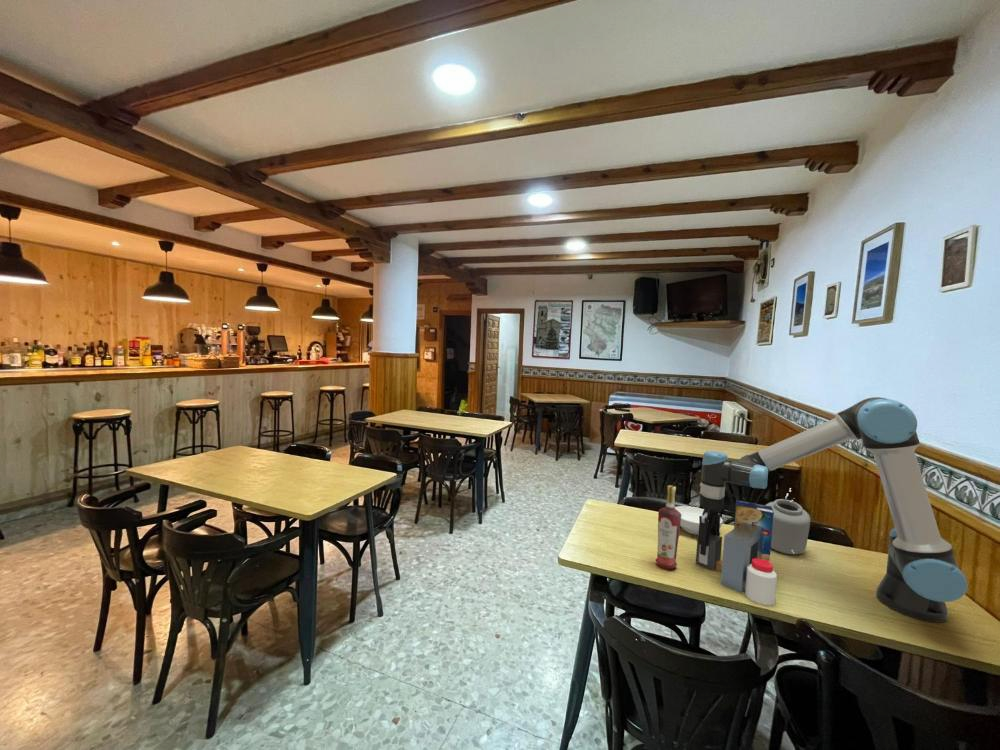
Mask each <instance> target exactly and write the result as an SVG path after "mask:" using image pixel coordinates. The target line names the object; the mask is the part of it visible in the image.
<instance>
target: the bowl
mask: <svg viewBox="0 0 1000 750" xmlns="http://www.w3.org/2000/svg"><path fill="white" fill-rule="evenodd" d="M675 509H676V510H678V511H679V512H680V513H681V522H680V527H681V528H682V529H683V531H685V532H687V533H689V534H693V535H697V536H698V532H699V517H700V516H702V514H703V511H704V508H700V507H696V506H695V507H694V506H686V505H680V506H675ZM722 525H723V518H722V517H721V516H720V529H721V528H722Z"/></svg>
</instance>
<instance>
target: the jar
mask: <svg viewBox="0 0 1000 750" xmlns="http://www.w3.org/2000/svg"><path fill="white" fill-rule="evenodd" d="M791 489H792V488H791V487H790V488H789V492H790V493H791V492H792V490H791ZM788 496H789V493H786V496H785V499H784V498H779V499H775V500H774V501H769V502H768V503H766V504H764V505H765V506H771V507H772V509H773V512H774V514H773V527H772V539H771V550H774V551H775V552H779V553H781V554H786V555H799V554H802V553H804V552H805V550H806V549H807V544H808V540H809V539H808V538H809V532H810V526H811V516H810V515H809V512H807V511H806V510H805V509H803V507H802V505H801V504H799V503H797V502H796V501H794V500H793V499H791V500H789V499H787V497H788ZM801 562H803V561H802V560H801Z"/></svg>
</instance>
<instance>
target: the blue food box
mask: <svg viewBox="0 0 1000 750" xmlns="http://www.w3.org/2000/svg"><path fill="white" fill-rule="evenodd" d="M765 505H766V504H759V503H753V502H748V501H743V500H739V499H736V500H735V511H734V513H735V514H734V525H733V529H734V528H736V527H737V526H739V525H740V524H741V523H747V524H752V525H757V526H761V527H764V536H763V548H762V559H763V560H766V561H768V562H770V563H771V550H772V548H771V539H772V527H773V514H774V512H773V509H772V507H771V506H765Z"/></svg>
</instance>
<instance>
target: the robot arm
mask: <svg viewBox="0 0 1000 750" xmlns="http://www.w3.org/2000/svg"><path fill="white" fill-rule="evenodd" d="M917 427H918V419H917V417H916V415H915V413H914V411H913V410H911V409H910V408H909V407H908V406H907V405H906V404H904V403H903V402H900V401H898V400H894V399H890V398H885V397H868V398H865V399H863V400H860V401H858V402H857V403H855V404H853V405H852V406H850V407H848V408H846V409H844V410H841V411H840V412H836V413H835V417H834V418H832V419H830V420H827V421H825V422H822V423H820V424H818V425H816V426H813V427H811V428H808V429H806V430H804V431H802V432H799V433H796V434H795V435H793V436H790V437H787V438H786V439H783V440H781V441H778V442H776V443H774V444H772V445H769V446H766V447H765V448H762V449H760V450H758V451H756V452H753V453H752V454H745V455H744V456H741V457H740V458H739V460H738V461H735V460H730V459H729V458H728V455H727V454H726V453H724V452H720V451H716V450H715V451H714V450H707V451H705V452H704V453H703V456H702V462H701V474H700V475H701V477H700V483H699V487H700V490H699V491H700V494H699V502H698V503H699V505H700V507H702V509H704V511H703V514H702V516H700V517H699V532H698V535H697V538H698V542H697V541H696V544H697V543H698V544H700V552H699V562H700V563H703V564H705V565H708V554H709V546H708V542H709V537H710V534H713V535H716V536H719V537H720V529H721V528H720V517H721V515H722V510H723V509H724V506H725V505H724V504H725V503H724V502H725V499H724V498H725V496H726V495H725V492H726V483H730V484H735V485H740V486H743V487H749V488H753V489H762V490H763V489H766V488H767V487H768V475H769V473H770V472H772V471H773V470H776V469H779V468H781V467H784V466H786V465H789V464H791V463H794V462H797V461H799V460H801V459H804V458H807V457H809V456H812V455H814V454H817V453H818V452H822V451H824V450H827V449H829V448H832V447H834V446H837V445H840V444H842V443H844V442H846V441H850V440H853V441H858V440H862V444H863V447H864V449H865V450H866V451H869V452H870V453H872V455H873V458H874V461H875V465H876V468H877V472H878V475H879V478H880V481H881V486H882V489H883V492H884V495H885V499H886V502H887V505H888V508H889V511H890V515H891V518H892V523H893V526H894V527H893V528H892V529H891V530H890V532H889V536H888V538H889V540H888V550H887V551H888V552H887V553H888V554H887V562H886V573H885V574H884V576H883V578H882V579H881V581H880V583H879V584H878V586H877V588H876V593H875V594H876V598H877V599H878V600H879V601H880V602H881V603H882V604H884V605H885V606H886V607H888V608H891V610H892V609H893V610H894V611H897V612H899V613H901V614H903V615H906V616H909V617H912V618H915V619H918V620H923V621H926V622H932V623H945V622H947V621H948V615H949V614H948V613H949V612H948V607H947V605H946V603H950V602H955V601H957V600H959V599H961V598H962V597H963V596H965V595H966V593H967V591H968V586H969V585H968V581H967V578H966V575H965V574H964V572H962V571H961V569H960V568H959V565H958V562H957V559H956V556H955V553H954V550H953V547H952V544H951V543H950V542H948V541H946V540H945V539H944V538H942V536H941V533H940V531H939V528H938V525H937V520H936V518H935V514H934V511H933V507H932V505H931V501H930V497H929V494H928V491H927V487H926V484H925V481H924V478H923V474H922V472H921V468H920V466H919V462H918V458H917V455H916V452H915V450H916V449H917V448H918V447H919V446H921V443H920V440H919V436H918V433H917V430H918V429H917Z"/></svg>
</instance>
